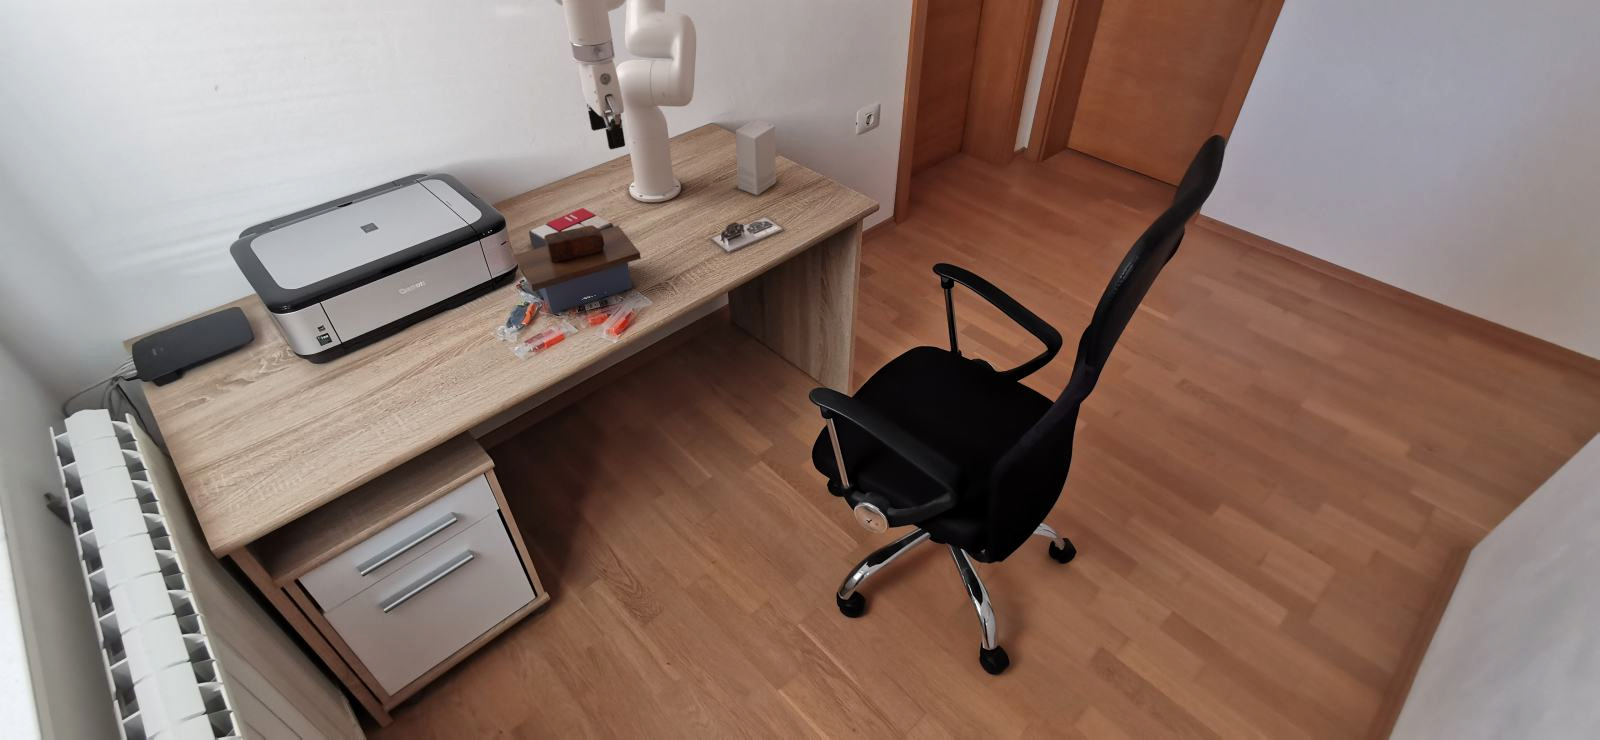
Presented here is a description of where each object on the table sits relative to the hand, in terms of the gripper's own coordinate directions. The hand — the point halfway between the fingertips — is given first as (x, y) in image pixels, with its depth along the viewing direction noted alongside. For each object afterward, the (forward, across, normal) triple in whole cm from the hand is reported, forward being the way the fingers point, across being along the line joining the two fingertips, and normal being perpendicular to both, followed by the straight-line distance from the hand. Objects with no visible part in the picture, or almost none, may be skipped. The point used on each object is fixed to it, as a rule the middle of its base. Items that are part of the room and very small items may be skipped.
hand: (608, 137), depth 148 cm
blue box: (+26, -9, +13) cm, 31 cm away
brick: (+18, -9, +13) cm, 24 cm away
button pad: (+26, +10, +9) cm, 30 cm away
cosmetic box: (+26, +11, -39) cm, 48 cm away
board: (+19, -9, +13) cm, 25 cm away
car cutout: (+26, -8, -26) cm, 38 cm away
